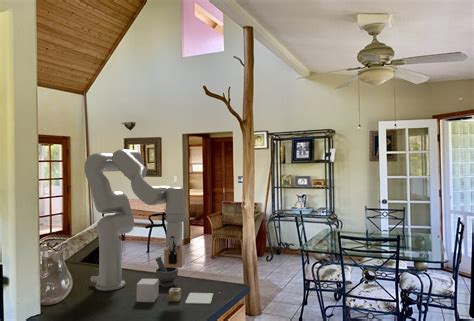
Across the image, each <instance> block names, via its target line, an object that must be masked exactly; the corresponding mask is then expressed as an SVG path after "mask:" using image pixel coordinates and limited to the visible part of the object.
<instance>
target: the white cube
mask: <svg viewBox="0 0 474 321" xmlns="http://www.w3.org/2000/svg"><path fill="white" fill-rule="evenodd" d="M159 285H160V281H159V279H158V278H141V279H140V280H139V281H138V282H137V283H136V302H138V303H155V302H156V300H157V299H158V297H159V295H160V293H159V291H160V290H159V288H160V286H159Z"/></svg>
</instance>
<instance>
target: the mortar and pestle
mask: <svg viewBox="0 0 474 321" xmlns="http://www.w3.org/2000/svg"><path fill="white" fill-rule="evenodd" d="M155 262H156V263H157V264H156V265H157V266H158V268H157V269H155V274H156V275H155V276H156V279H159V285H160V286H159V287H164V288H169V287H173V286H174V285H175V282H174V281H176V279H177V277H178V274H179V268H172V267H164V261H163V260H162V257H161V256H158V257H156V258H155Z"/></svg>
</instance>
